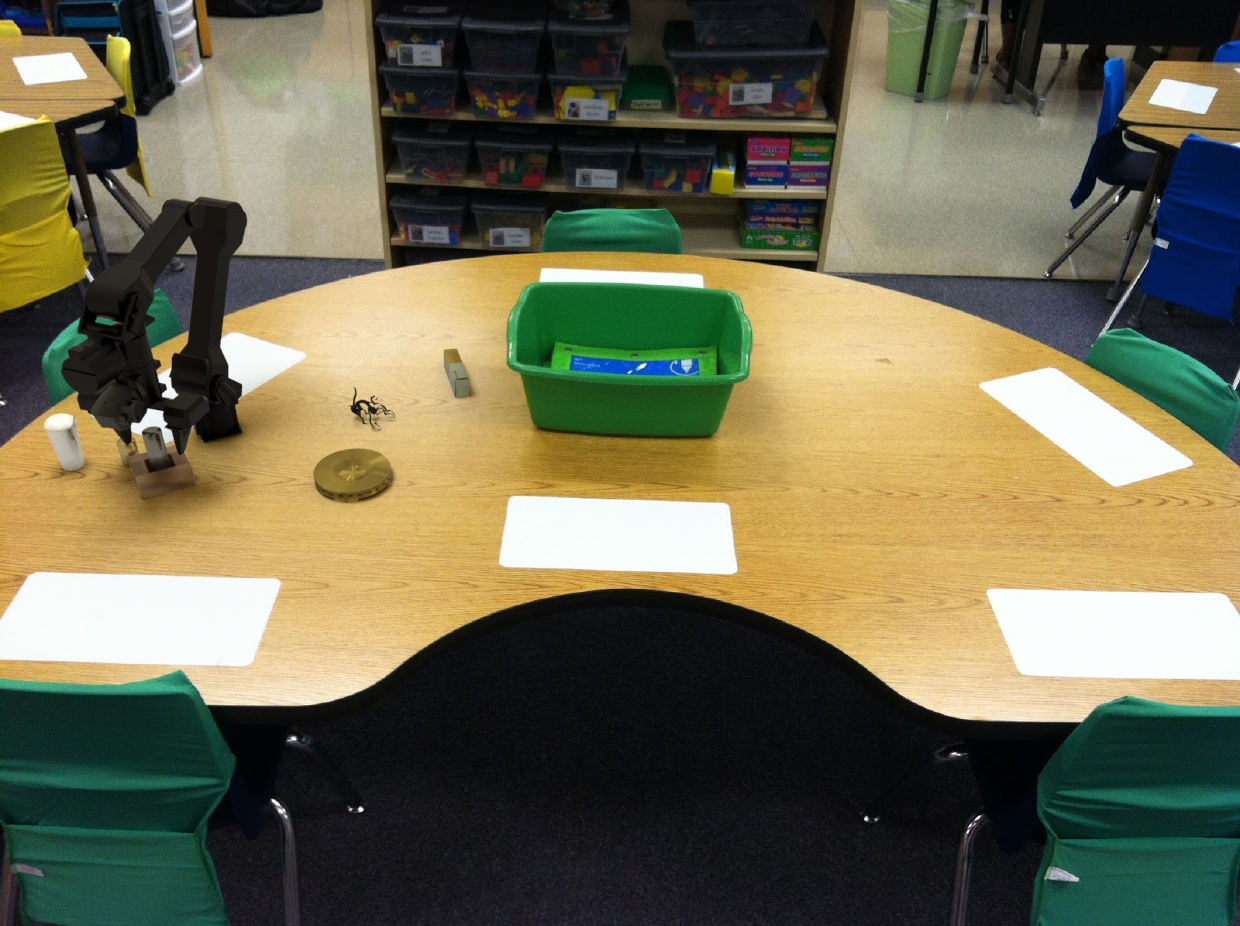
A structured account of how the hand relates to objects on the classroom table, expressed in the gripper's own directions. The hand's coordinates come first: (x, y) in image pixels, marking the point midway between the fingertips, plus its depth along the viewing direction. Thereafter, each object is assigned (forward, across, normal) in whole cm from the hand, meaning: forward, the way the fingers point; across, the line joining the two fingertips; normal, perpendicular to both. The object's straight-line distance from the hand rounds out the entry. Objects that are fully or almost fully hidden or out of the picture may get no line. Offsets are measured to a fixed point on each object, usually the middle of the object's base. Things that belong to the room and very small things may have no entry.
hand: (155, 448), depth 161 cm
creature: (+6, +24, +26) cm, 36 cm away
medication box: (+6, +33, +42) cm, 54 cm away
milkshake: (+6, -15, -1) cm, 16 cm away
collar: (+6, 0, 0) cm, 6 cm away
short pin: (+6, -7, +3) cm, 10 cm away
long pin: (+6, 0, 0) cm, 6 cm away
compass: (+6, +28, +9) cm, 30 cm away
